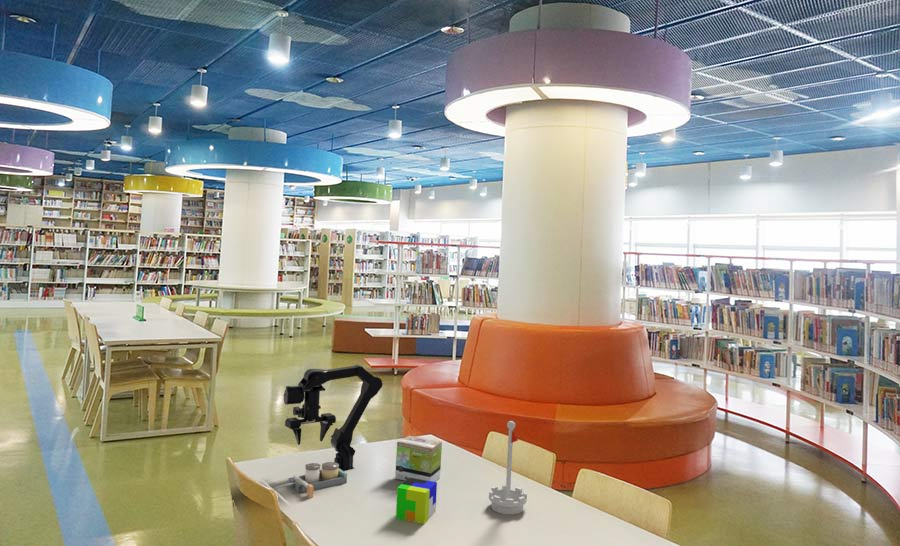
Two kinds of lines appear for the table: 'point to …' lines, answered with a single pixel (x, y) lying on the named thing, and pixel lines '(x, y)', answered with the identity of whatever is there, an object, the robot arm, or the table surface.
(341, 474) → the grey flat frame
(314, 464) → the white jar
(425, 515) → the puzzle toy
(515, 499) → the flag stand
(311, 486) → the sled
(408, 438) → the tea box
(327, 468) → the ochre jar
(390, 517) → the table surface
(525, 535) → the table surface
